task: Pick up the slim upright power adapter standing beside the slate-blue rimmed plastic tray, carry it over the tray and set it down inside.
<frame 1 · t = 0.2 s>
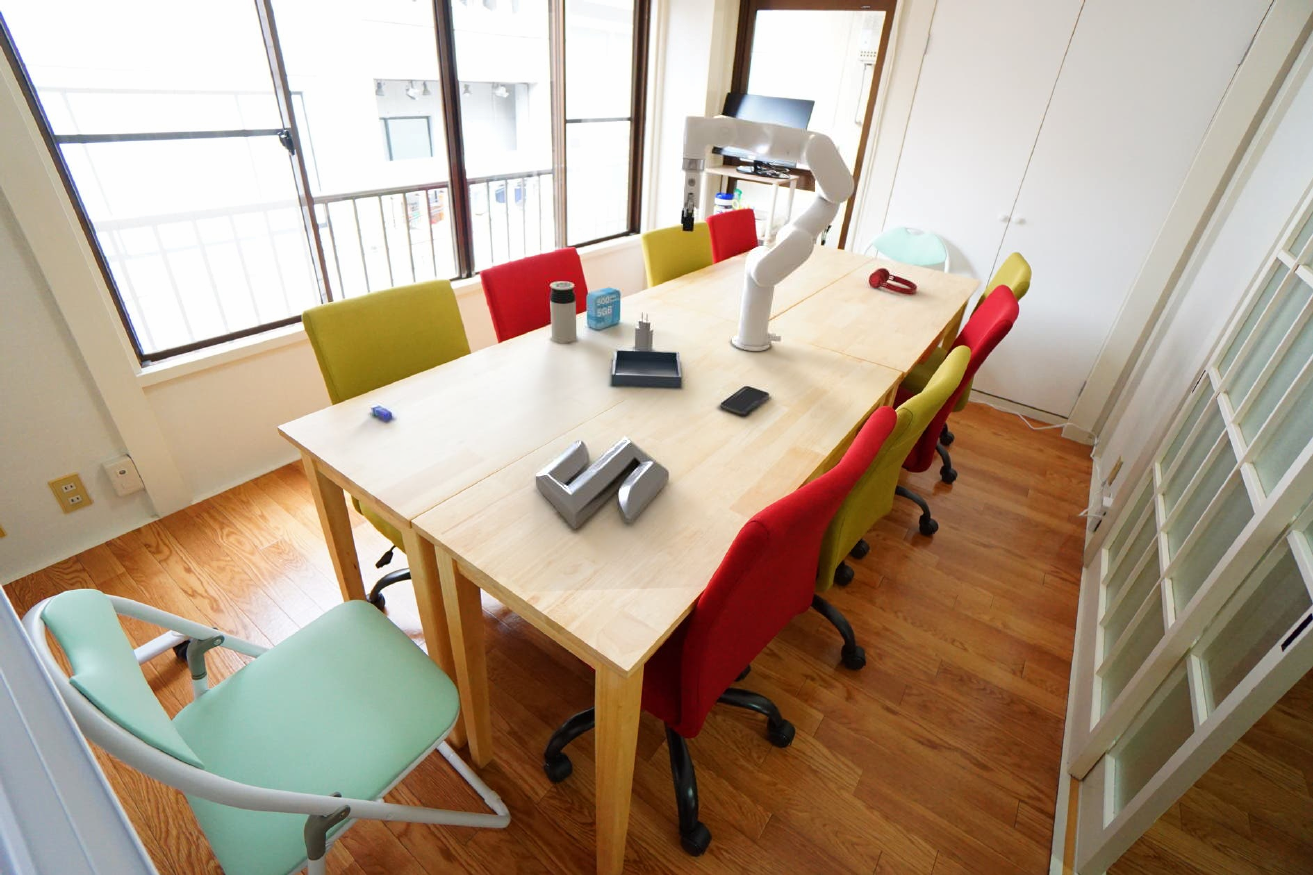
hand: (686, 227, 173), 37 cm above the table, tool pointing down, fingers open, 9 cm apart
travel mug: (564, 339, 190), on the table
tray: (646, 373, 170), on the table
emblem: (603, 487, 122), on the table
power adapter: (643, 349, 185), on the table
data package: (603, 325, 202), on the table
eraser: (382, 417, 142), on the table
phone: (745, 403, 157), on the table
headphones: (891, 289, 257), on the table
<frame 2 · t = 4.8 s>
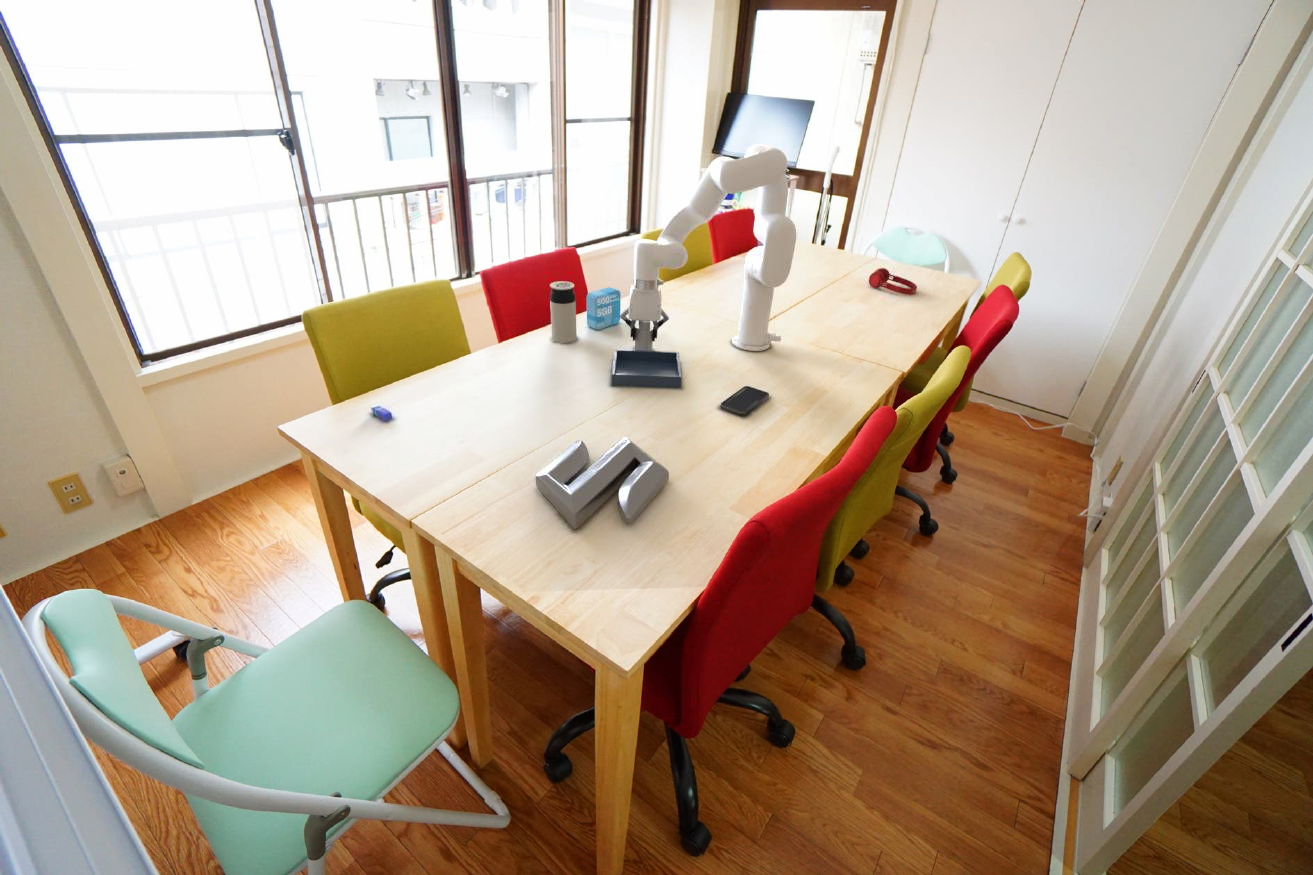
hand: (643, 339, 183), 4 cm above the table, tool pointing down, fingers closed on power adapter, 5 cm apart
power adapter: (643, 349, 185), on the table, touching gripper
everything else where it was.
when the fingers open (4 cm above the table, at t = 12.7 s): power adapter stays where it is, resting on tray.
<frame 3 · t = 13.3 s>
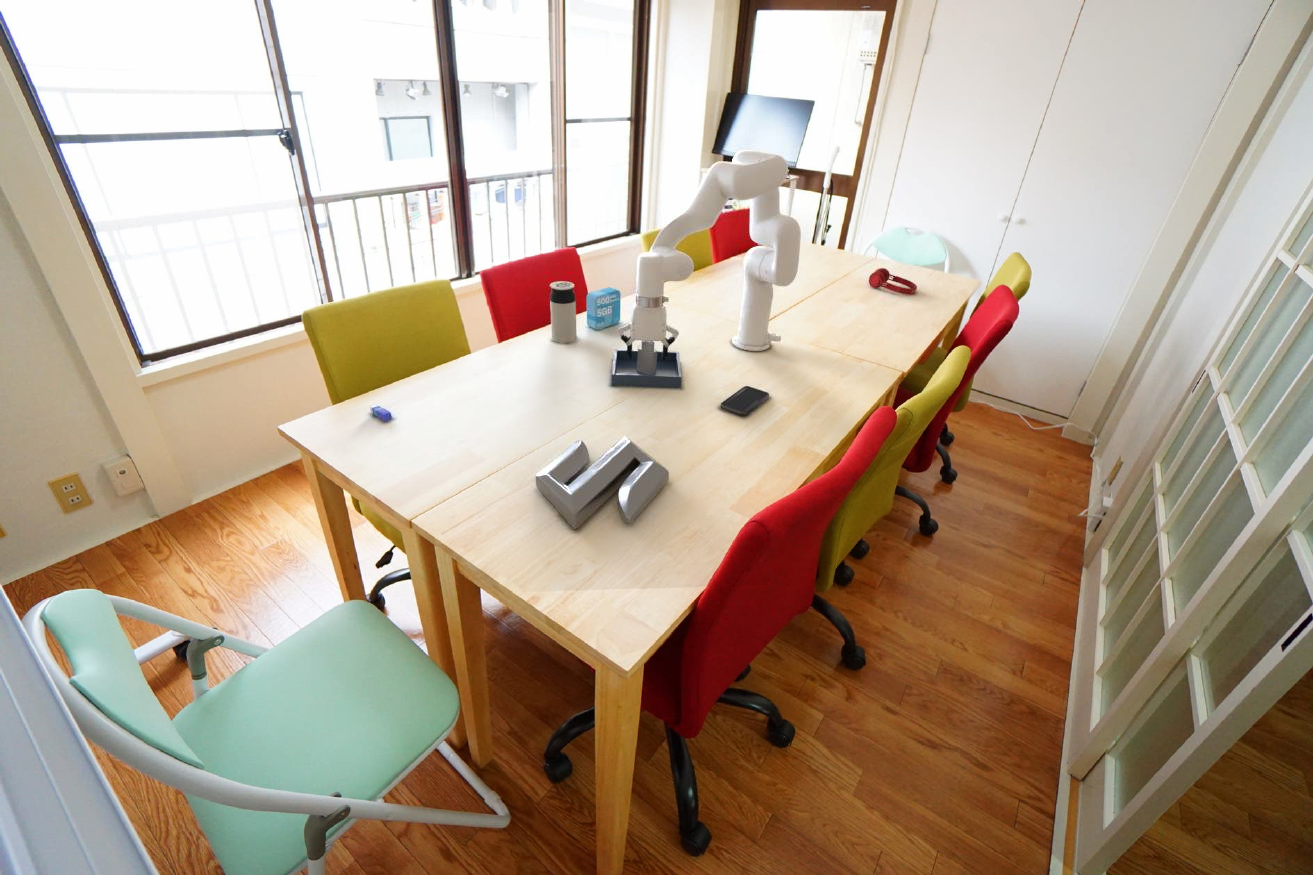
hand: (647, 357, 167), 5 cm above the table, tool pointing down, fingers open, 9 cm apart
power adapter: (646, 372, 170), resting on tray
everything else where it was.
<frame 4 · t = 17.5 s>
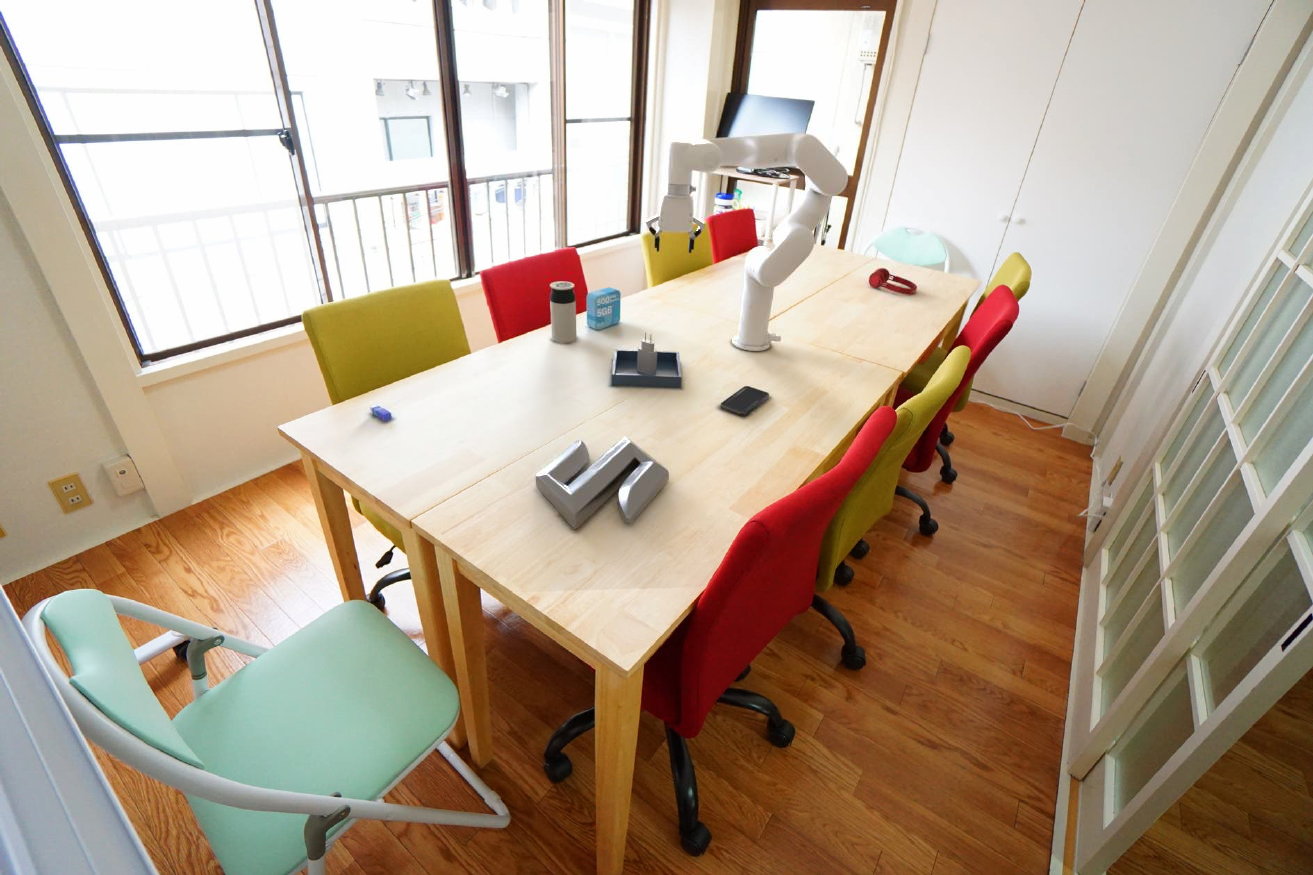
hand: (673, 251, 173), 30 cm above the table, tool pointing down, fingers open, 9 cm apart
nothing on the table moved.
at the end: power adapter inside the target area in the tray (0.1 cm from its centre), point 0.4 cm above the tray's base; the gripper is holding nothing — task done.
